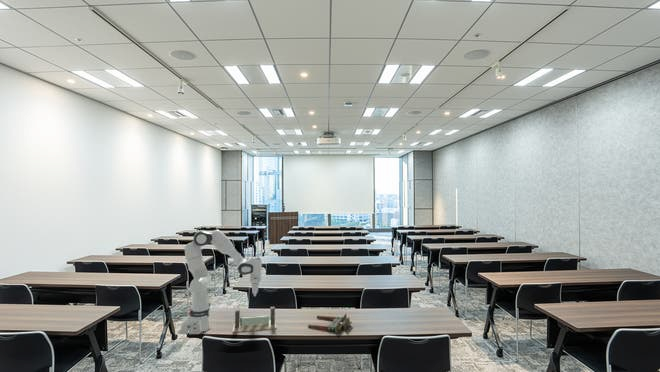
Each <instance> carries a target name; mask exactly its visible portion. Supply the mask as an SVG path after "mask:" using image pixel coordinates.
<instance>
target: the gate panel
mask: <svg viewBox="0 0 660 372" xmlns="http://www.w3.org/2000/svg"><path fill="white" fill-rule="evenodd" d="M269 320H270V315H262V316H261V315H260V316H249V317H240V326H249V325H260V324H269Z"/></svg>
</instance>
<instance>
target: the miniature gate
mask: <svg viewBox="0 0 660 372" xmlns="http://www.w3.org/2000/svg"><path fill="white" fill-rule="evenodd" d="M317 318H320V319H319V320H324V319H326V321H332V322H331V324H329V325H321V324H320V325H318V324H317V325H316V324H308V325H307V327H308V328H309V329H314V328H315V330H323V331H333V332H335V335H338V333H339V332H340V331H341V330H342V328H343V330H344V331H343V332H346V331H347V329H348V328H350V325H351V324H353V323H352V321H350V317H348V316H347V313H345V314H344V315H343V316H328V315H316V319H317Z"/></svg>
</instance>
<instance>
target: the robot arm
mask: <svg viewBox="0 0 660 372" xmlns="http://www.w3.org/2000/svg"><path fill="white" fill-rule="evenodd" d="M208 244H212V245H213V246H214V248H216V250H217V251H218V252H220V253H221V254H223V255H228V256H229V257H230V258H231V259H232V260H233V261H234V262H235V263H236V265H237V272H238V273H239V274H240V275H243V276H245V275H249V281H250V283H251V292H252V294H253V297H257V294H258V292H259V284H260V282H261V281H262V268H263V267H262V266H263V263H262V259H261V258H260V257H259V256H251V257H250V258H249V259H248V258H246V257H244V256H243V255H241V253H239V251H238V250H237V249H236V248H235V246H234V244H233V242H232V241H231V240H230V239H229V237H228V236H227V235H226V234H225V233H224V232H222V231H221V230H219V229H214V230H213V231H211V232H208V231H207V230H204V229H201V230H200V229H199V230H198V231H196V232H195V233H194V235H193V239H192V241H191V242H189V243H187V244H186V245H185V246H184V254H185V255H184V256H185V260H186V264H187V267H188V271H189V272H190V273H191V275H192V277H193V279H192V280H191V282H190V284H189V291H190V293H191V299H192V307H191V308H190V309H189V313H188V314H189V315H187V316H186V317H185V318H184V319H183V320H182V322H181V324H180V326H179V327H178V328H177V330H176V334H177V335H200V334H201V332H202V333H204V332H206V331H208V329H209V330H210V329H211V327H212V326H211V322H210V305H209V304H210V299H209V298H210V297H209V294H208V286H209V285H210V284H211V281H212V275H211V274H210V273H209V271H208V269H207V267H206V265H205V261H204V258H203V254H202V249H201V248H202V247H204V246H206V245H208ZM188 331H189V334H187V333H188ZM203 331H204V332H203Z"/></svg>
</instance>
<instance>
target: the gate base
mask: <svg viewBox="0 0 660 372" xmlns="http://www.w3.org/2000/svg"><path fill="white" fill-rule="evenodd" d="M240 310H241V309H235V311H234V323H233V327H232V334H233V333H243V332H253V331H254V332H255V331H267V330H274V329H275V330H276V329H277V319H275V318H276V312H275V311H276V307H275V306H270V315H269V324H260V325H249V326H240V318H241V317H240V316H241V315H240V313H241V312H240Z"/></svg>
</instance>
